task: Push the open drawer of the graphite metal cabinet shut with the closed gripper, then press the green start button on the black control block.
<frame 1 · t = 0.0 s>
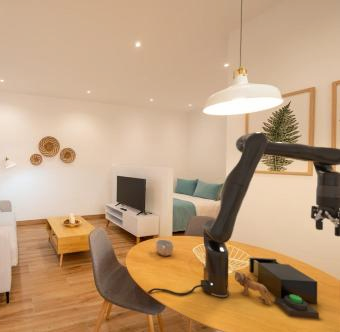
hand: (328, 232, 92), 29 cm above the table, tool pointing down, fingers open, 8 cm apart
cabinet: (284, 292, 98), on the table
control block: (295, 310, 86), on the table
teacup: (164, 255, 138), on the table
drawer: (268, 269, 109), point 5 cm above the table, slide at 7.0 cm
start button: (295, 299, 86), point 4 cm above the table, slide at 0.1 cm
lion figurine: (252, 296, 95), on the table
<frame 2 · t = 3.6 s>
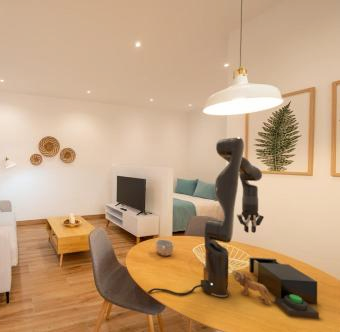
hand: (249, 232, 124), 19 cm above the table, tool pointing down, fingers open, 3 cm apart
nothing on the table moved.
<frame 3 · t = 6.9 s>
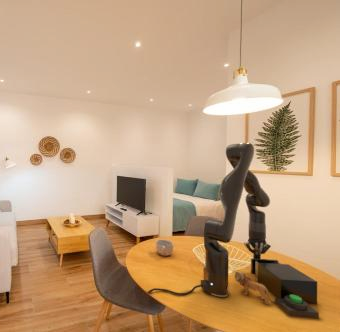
hand: (256, 260, 118), 5 cm above the table, tool pointing down, fingers closed
drawer: (270, 271, 107), point 5 cm above the table, slide at 5.7 cm, touching gripper
everything else where it was.
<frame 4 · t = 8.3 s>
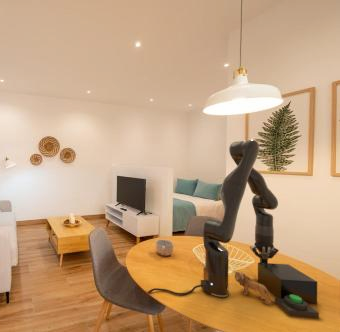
hand: (263, 265, 112), 5 cm above the table, tool pointing down, fingers closed
drawer: (278, 277, 102), point 5 cm above the table, slide at 0.0 cm, touching cabinet, gripper
everything else where it was.
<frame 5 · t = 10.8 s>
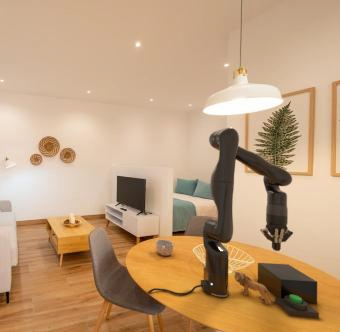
hand: (276, 250, 99), 19 cm above the table, tool pointing down, fingers closed
drawer: (278, 277, 102), point 5 cm above the table, slide at 0.0 cm, touching cabinet
everything else where it was.
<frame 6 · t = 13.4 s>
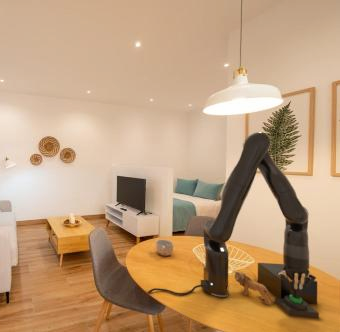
hand: (295, 296, 86), 5 cm above the table, tool pointing down, fingers closed
start button: (295, 299, 86), point 4 cm above the table, slide at 0.0 cm, touching gripper
everything else where it was.
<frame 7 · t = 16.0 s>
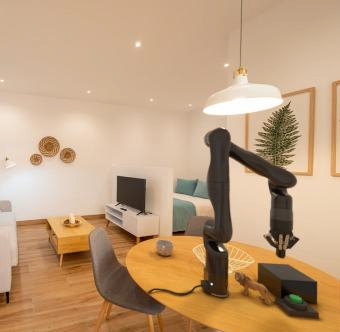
hand: (280, 257, 92), 19 cm above the table, tool pointing down, fingers closed
start button: (295, 299, 86), point 4 cm above the table, slide at 0.1 cm
everything else where it was.
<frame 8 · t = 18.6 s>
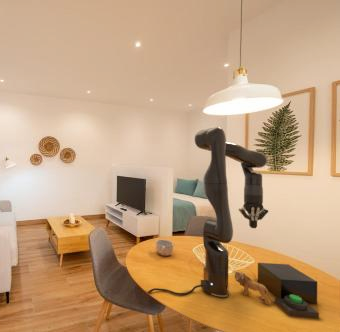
hand: (253, 227, 107), 27 cm above the table, tool pointing down, fingers closed
nothing on the table moved.
at the end: drawer slide at 0.0 cm; start button pushed in 1.1 cm at the most during the clip and back out by the end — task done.
